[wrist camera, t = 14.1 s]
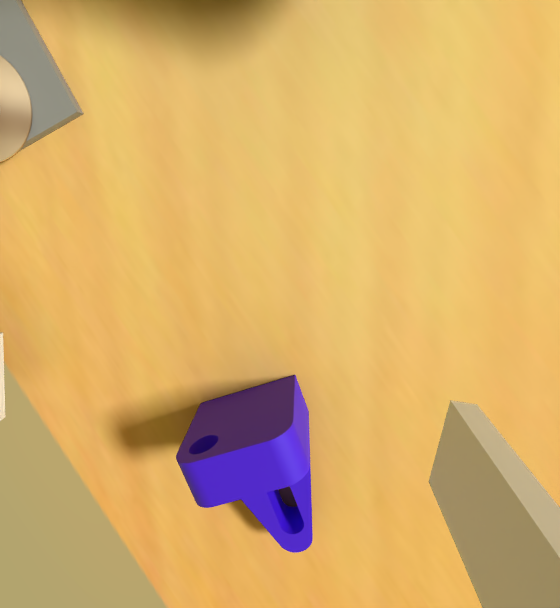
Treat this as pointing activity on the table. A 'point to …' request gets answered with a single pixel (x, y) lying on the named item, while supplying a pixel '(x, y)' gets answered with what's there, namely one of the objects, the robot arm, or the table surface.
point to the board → (35, 71)
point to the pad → (13, 111)
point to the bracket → (254, 457)
